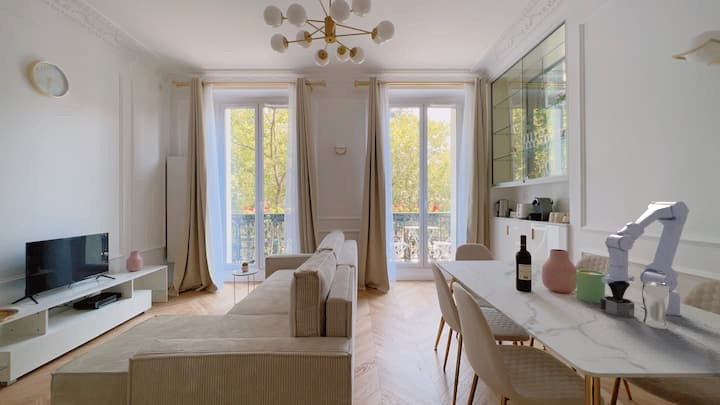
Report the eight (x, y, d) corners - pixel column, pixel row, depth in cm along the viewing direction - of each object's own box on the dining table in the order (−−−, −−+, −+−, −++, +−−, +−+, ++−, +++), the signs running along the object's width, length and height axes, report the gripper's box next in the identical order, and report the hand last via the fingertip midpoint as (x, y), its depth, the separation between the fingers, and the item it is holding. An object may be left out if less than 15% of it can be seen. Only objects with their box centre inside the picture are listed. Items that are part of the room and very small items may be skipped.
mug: (603, 297, 139) (603, 271, 139) (606, 304, 130) (606, 276, 130) (569, 292, 146) (569, 267, 146) (570, 298, 137) (570, 272, 137)
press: (626, 310, 123) (626, 297, 123) (637, 318, 115) (638, 305, 114) (596, 307, 126) (596, 294, 126) (605, 315, 118) (605, 301, 118)
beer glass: (674, 330, 104) (674, 287, 104) (650, 329, 106) (651, 285, 106) (658, 322, 111) (659, 281, 111) (636, 320, 113) (637, 280, 112)
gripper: (620, 262, 126) (620, 295, 126) (594, 264, 122) (593, 298, 122) (640, 266, 119) (639, 300, 119) (612, 268, 115) (612, 304, 115)
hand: (617, 300), depth 120 cm, fingers closed, pressing on plunger
